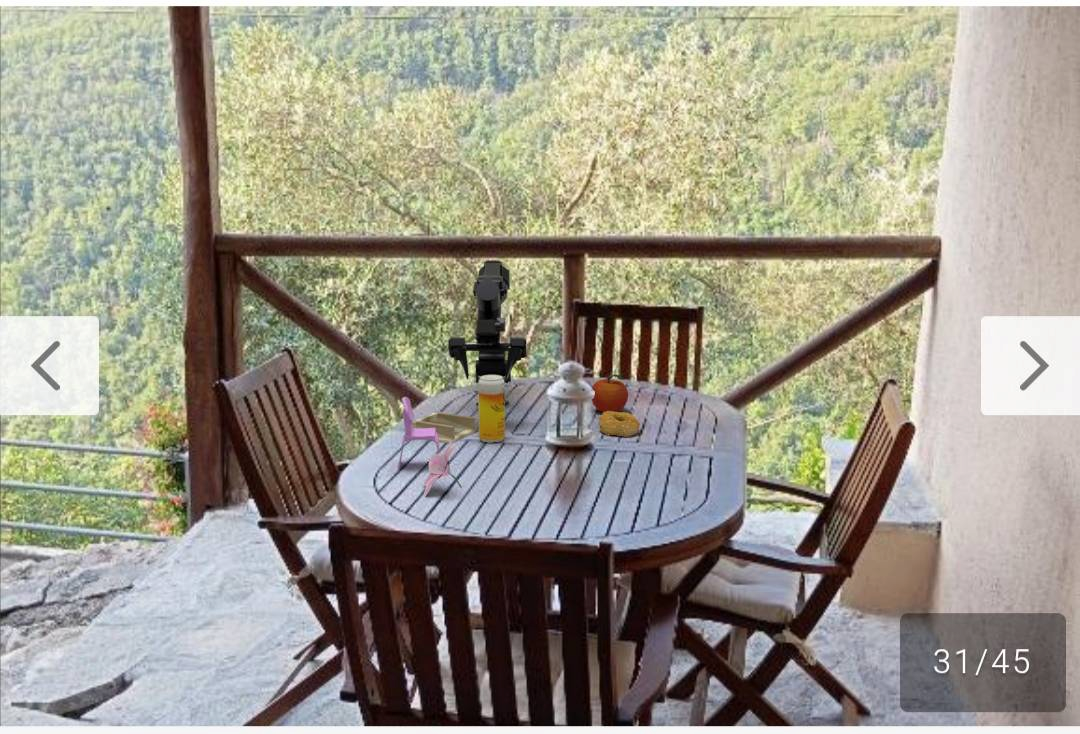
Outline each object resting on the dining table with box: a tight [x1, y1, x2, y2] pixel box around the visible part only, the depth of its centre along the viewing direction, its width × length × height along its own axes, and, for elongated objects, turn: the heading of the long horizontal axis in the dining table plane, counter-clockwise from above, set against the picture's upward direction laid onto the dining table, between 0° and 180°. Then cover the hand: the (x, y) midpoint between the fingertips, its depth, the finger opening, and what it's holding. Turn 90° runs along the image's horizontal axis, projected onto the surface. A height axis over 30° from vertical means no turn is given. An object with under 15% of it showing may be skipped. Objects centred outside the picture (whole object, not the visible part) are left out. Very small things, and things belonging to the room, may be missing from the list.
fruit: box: [591, 373, 629, 413], centre depth 274 cm, size 10×10×10 cm
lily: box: [422, 441, 463, 497], centre depth 215 cm, size 12×12×10 cm
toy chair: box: [397, 396, 440, 471], centre depth 229 cm, size 8×9×15 cm
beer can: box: [477, 375, 506, 444], centre depth 248 cm, size 6×6×15 cm
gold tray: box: [411, 410, 478, 444], centre depth 254 cm, size 12×12×4 cm
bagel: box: [598, 411, 641, 438], centre depth 256 cm, size 10×11×5 cm
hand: (486, 378), depth 255 cm, fingers open, 9 cm apart
